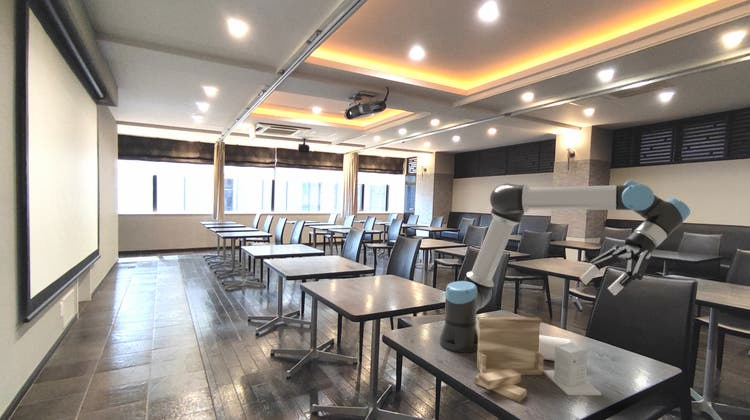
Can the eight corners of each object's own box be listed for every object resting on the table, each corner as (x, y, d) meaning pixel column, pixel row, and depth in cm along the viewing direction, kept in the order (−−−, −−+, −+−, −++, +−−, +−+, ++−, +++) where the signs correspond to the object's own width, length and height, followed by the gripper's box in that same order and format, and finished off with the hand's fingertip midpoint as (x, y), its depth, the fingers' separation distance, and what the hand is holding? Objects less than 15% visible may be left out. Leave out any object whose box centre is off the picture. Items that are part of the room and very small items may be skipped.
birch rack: (476, 367, 120) (477, 316, 120) (536, 367, 121) (538, 317, 121) (480, 374, 116) (482, 321, 115) (543, 374, 117) (545, 322, 116)
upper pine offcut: (487, 389, 103) (487, 381, 103) (478, 382, 107) (479, 374, 107) (520, 382, 107) (520, 374, 107) (511, 376, 111) (511, 368, 111)
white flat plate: (543, 372, 118) (543, 370, 118) (572, 372, 119) (572, 370, 119) (567, 395, 104) (567, 393, 104) (601, 395, 105) (601, 393, 105)
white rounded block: (571, 367, 122) (572, 344, 122) (539, 362, 126) (539, 339, 126) (566, 353, 133) (567, 332, 133) (537, 349, 137) (538, 328, 137)
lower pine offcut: (474, 384, 110) (474, 376, 110) (481, 379, 113) (482, 372, 113) (519, 404, 100) (519, 395, 100) (526, 398, 103) (526, 389, 103)
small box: (570, 374, 116) (571, 341, 116) (587, 382, 111) (588, 348, 111) (553, 378, 113) (554, 345, 112) (569, 387, 108) (570, 352, 107)
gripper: (688, 254, 101) (634, 306, 101) (623, 243, 126) (579, 285, 126) (671, 235, 101) (616, 287, 100) (609, 227, 126) (565, 269, 125)
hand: (596, 286), depth 113 cm, fingers open, 13 cm apart
